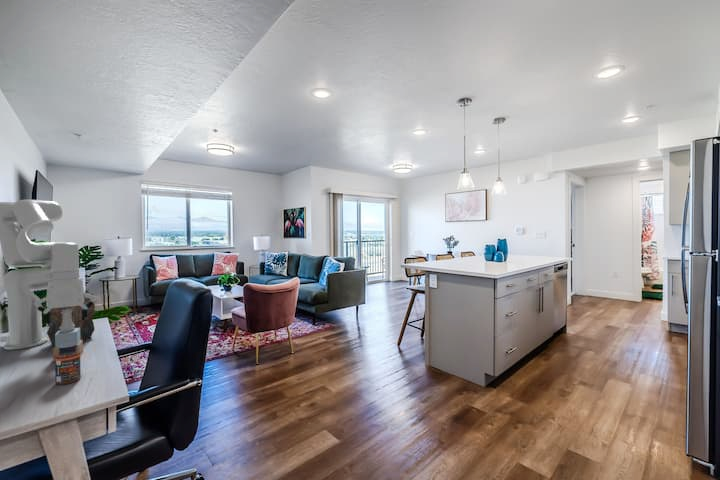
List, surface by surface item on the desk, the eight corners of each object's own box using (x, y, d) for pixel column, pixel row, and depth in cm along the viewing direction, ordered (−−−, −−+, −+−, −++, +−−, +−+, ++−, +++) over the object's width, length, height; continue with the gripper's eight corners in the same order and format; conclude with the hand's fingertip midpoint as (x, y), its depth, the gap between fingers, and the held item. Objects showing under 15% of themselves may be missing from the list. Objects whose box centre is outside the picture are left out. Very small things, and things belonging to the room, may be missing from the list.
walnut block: (53, 362, 114) (53, 348, 114) (58, 356, 120) (58, 343, 120) (79, 358, 118) (79, 345, 118) (83, 352, 124) (82, 339, 124)
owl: (45, 345, 131) (43, 297, 131) (77, 335, 144) (75, 291, 143) (71, 347, 129) (69, 298, 129) (101, 337, 142) (100, 292, 141)
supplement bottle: (59, 387, 95) (57, 350, 95) (52, 382, 99) (51, 346, 98) (84, 379, 100) (83, 344, 100) (77, 375, 104) (76, 340, 103)
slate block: (55, 348, 114) (54, 334, 114) (59, 343, 120) (59, 330, 119) (77, 345, 118) (77, 331, 118) (80, 340, 123) (80, 327, 123)
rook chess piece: (57, 333, 116) (56, 311, 116) (61, 330, 120) (61, 308, 120) (73, 331, 118) (72, 310, 118) (77, 328, 122) (76, 307, 122)
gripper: (29, 279, 110) (31, 328, 111) (94, 275, 120) (95, 320, 120) (36, 276, 117) (38, 323, 117) (97, 273, 126) (98, 315, 126)
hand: (67, 321), depth 119 cm, fingers open, 9 cm apart
